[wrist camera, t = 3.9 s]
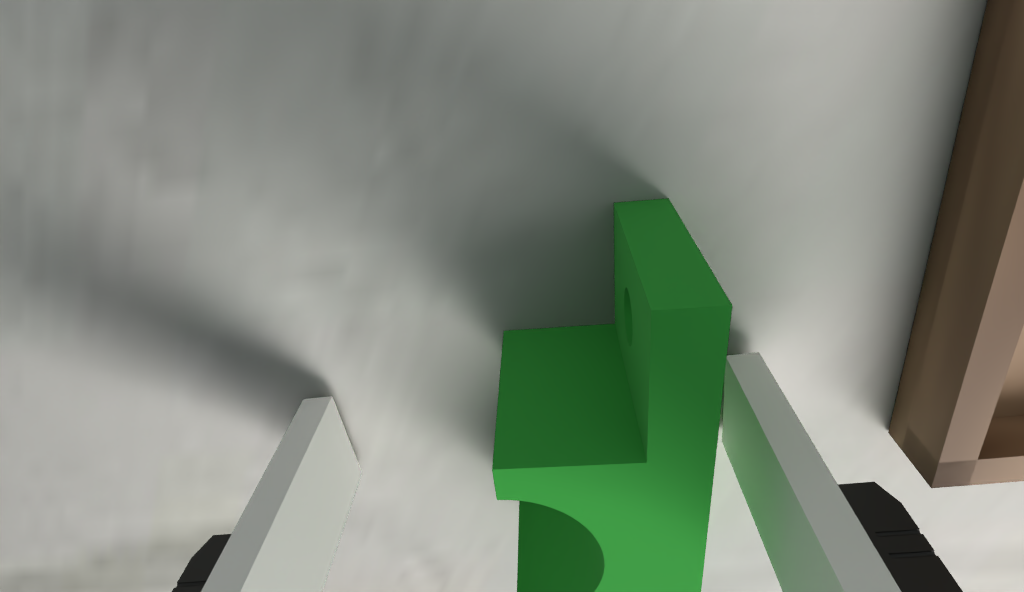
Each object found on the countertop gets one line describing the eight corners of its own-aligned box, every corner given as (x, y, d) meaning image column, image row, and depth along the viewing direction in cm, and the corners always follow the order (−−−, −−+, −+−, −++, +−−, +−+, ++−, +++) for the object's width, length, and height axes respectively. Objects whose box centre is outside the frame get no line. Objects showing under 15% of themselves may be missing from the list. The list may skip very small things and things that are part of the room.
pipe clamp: (488, 207, 12) (467, 319, 8) (666, 193, 12) (734, 301, 8) (530, 550, 18) (530, 720, 14) (653, 546, 17) (690, 717, 13)
